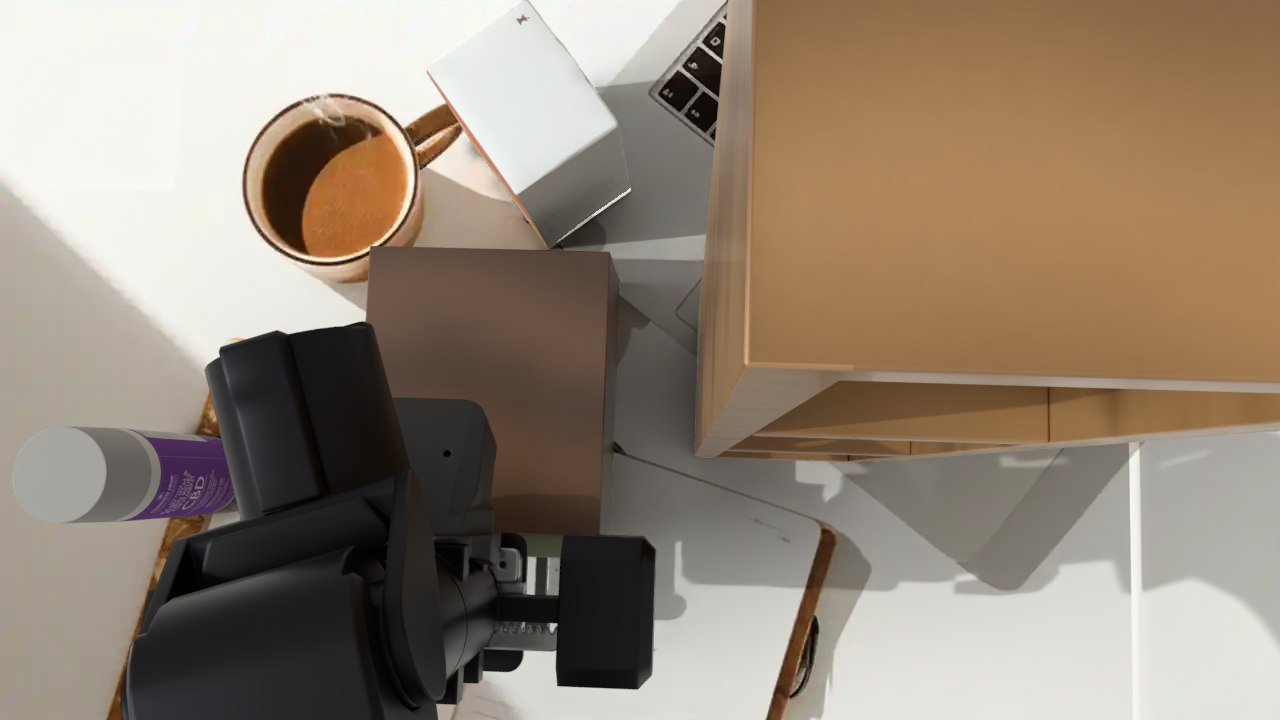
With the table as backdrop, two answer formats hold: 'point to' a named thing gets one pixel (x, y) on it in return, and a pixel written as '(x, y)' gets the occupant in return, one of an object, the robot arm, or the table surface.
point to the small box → (535, 121)
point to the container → (120, 475)
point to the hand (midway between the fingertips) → (472, 584)
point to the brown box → (513, 366)
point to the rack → (990, 227)
